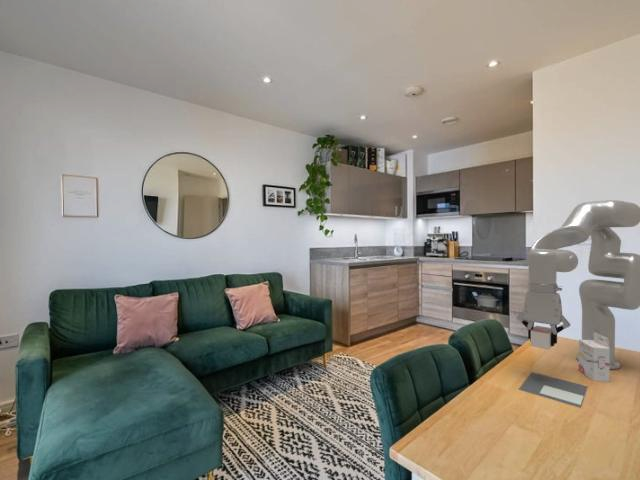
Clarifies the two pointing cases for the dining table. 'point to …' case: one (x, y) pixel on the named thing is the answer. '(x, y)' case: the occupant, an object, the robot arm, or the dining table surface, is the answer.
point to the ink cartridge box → (595, 358)
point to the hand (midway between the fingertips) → (542, 342)
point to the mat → (555, 389)
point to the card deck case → (541, 337)
